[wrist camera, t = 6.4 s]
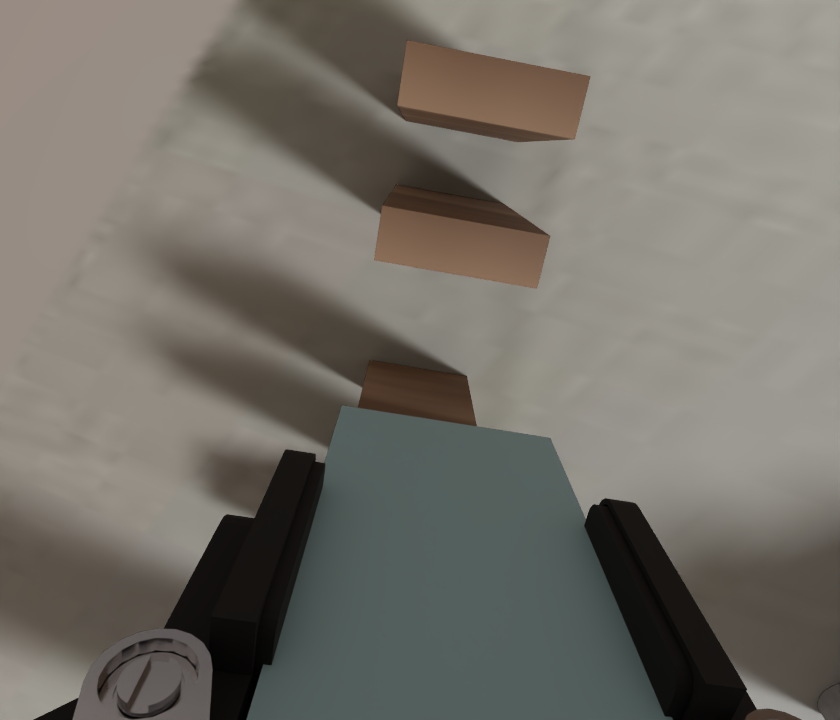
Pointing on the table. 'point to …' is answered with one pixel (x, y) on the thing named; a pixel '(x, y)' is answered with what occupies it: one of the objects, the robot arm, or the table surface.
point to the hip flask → (830, 703)
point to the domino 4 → (449, 587)
